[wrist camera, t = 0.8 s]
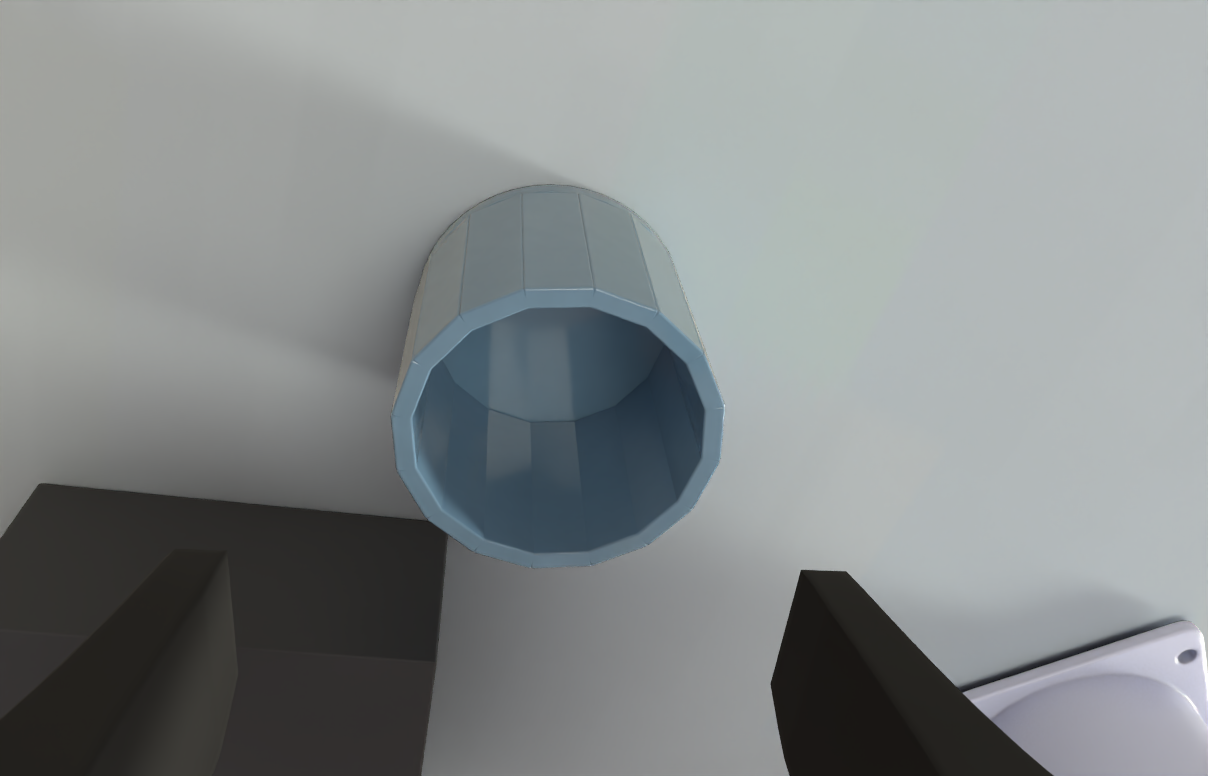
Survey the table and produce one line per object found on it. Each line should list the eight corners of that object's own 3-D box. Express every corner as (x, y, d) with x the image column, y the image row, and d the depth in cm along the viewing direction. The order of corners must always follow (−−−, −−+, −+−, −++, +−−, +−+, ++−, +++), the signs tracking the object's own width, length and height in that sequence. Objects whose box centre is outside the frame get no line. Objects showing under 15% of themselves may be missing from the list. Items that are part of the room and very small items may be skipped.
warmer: (449, 522, 24) (436, 663, 20) (403, 862, 30) (386, 1021, 26) (38, 482, 22) (-62, 625, 18) (77, 847, 28) (7, 1014, 24)
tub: (714, 368, 22) (763, 504, 18) (486, 456, 23) (480, 607, 18) (625, 140, 19) (657, 234, 15) (369, 247, 20) (330, 366, 16)
